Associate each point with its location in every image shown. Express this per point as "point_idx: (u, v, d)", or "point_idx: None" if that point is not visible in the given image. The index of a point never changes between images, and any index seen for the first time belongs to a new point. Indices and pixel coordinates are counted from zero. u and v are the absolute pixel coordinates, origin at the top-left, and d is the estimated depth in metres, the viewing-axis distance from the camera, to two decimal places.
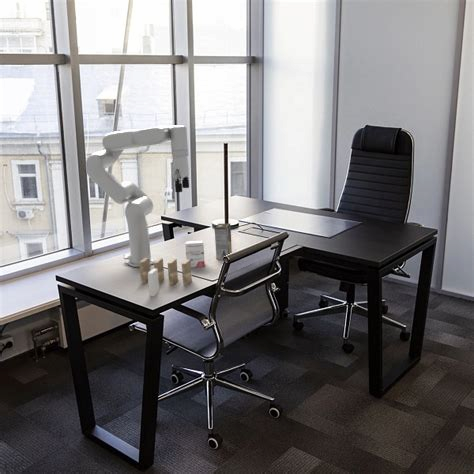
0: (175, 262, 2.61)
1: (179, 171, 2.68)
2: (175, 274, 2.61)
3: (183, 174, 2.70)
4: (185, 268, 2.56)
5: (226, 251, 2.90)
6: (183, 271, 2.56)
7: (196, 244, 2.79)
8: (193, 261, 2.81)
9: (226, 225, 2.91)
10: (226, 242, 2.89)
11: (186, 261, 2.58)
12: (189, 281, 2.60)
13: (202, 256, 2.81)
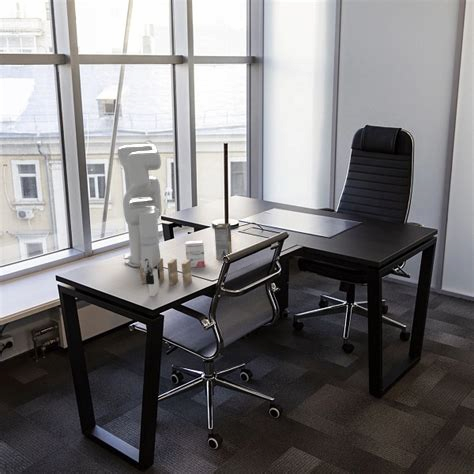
0: (175, 262, 2.61)
1: (149, 261, 2.41)
2: (175, 274, 2.61)
3: (153, 264, 2.43)
4: (185, 268, 2.56)
5: (226, 251, 2.90)
6: (183, 271, 2.56)
7: (196, 244, 2.79)
8: (193, 261, 2.81)
9: (226, 225, 2.91)
10: (226, 242, 2.89)
11: (186, 261, 2.58)
12: (189, 281, 2.60)
13: (202, 256, 2.81)
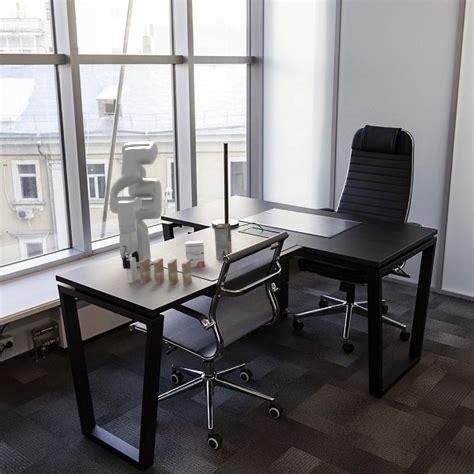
0: (175, 262, 2.61)
1: (126, 248, 2.58)
2: (175, 274, 2.61)
3: (131, 250, 2.60)
4: (185, 268, 2.56)
5: (226, 251, 2.90)
6: (183, 271, 2.56)
7: (196, 244, 2.79)
8: (193, 261, 2.81)
9: (226, 225, 2.91)
10: (226, 242, 2.89)
11: (186, 261, 2.58)
12: (189, 281, 2.60)
13: (202, 256, 2.81)
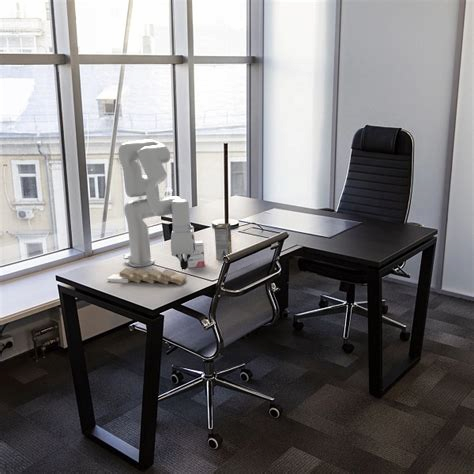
0: (153, 270, 2.65)
1: (171, 245, 2.57)
2: None
3: (174, 250, 2.56)
4: (165, 276, 2.59)
5: (226, 251, 2.90)
6: (167, 279, 2.59)
7: (196, 244, 2.79)
8: (193, 261, 2.81)
9: (226, 225, 2.91)
10: (226, 242, 2.89)
11: None
12: (182, 278, 2.60)
13: (202, 256, 2.81)
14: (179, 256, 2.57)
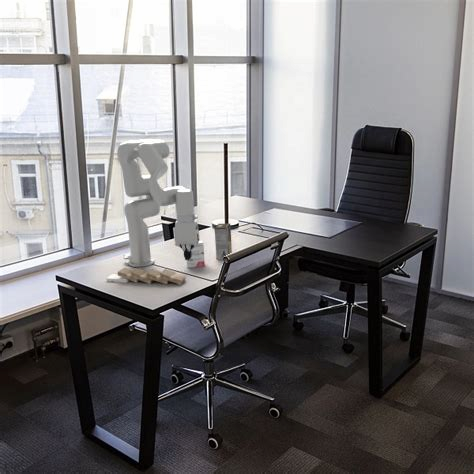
0: (152, 270, 2.65)
1: None
2: None
3: (178, 240, 2.54)
4: (164, 275, 2.60)
5: (226, 251, 2.90)
6: (167, 278, 2.60)
7: None
8: (193, 261, 2.81)
9: (226, 225, 2.91)
10: (226, 242, 2.89)
11: None
12: (181, 278, 2.61)
13: (202, 256, 2.81)
14: (183, 246, 2.55)
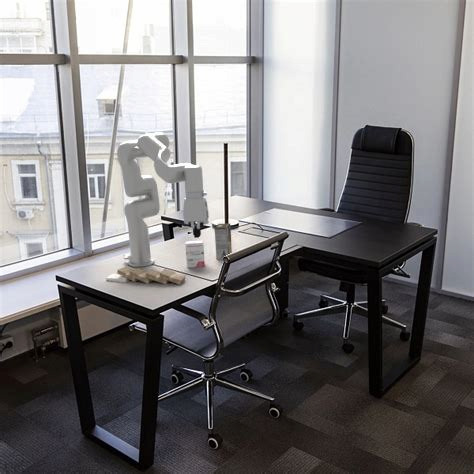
0: (151, 270, 2.65)
1: None
2: None
3: (187, 217, 2.50)
4: (164, 275, 2.60)
5: (226, 251, 2.90)
6: (166, 278, 2.60)
7: (196, 244, 2.79)
8: (193, 261, 2.81)
9: (226, 225, 2.91)
10: (226, 242, 2.89)
11: None
12: (181, 277, 2.61)
13: (202, 256, 2.81)
14: (192, 224, 2.51)
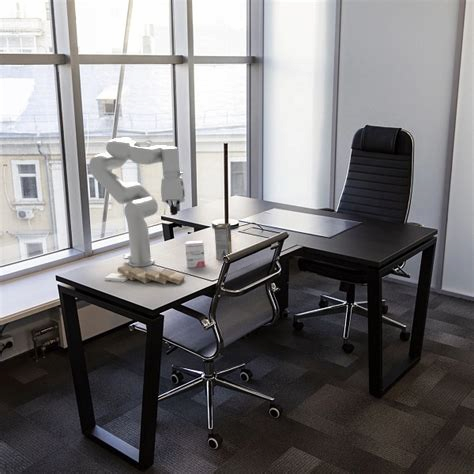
0: (151, 270, 2.66)
1: (161, 191, 2.68)
2: None
3: (164, 196, 2.67)
4: (163, 275, 2.60)
5: (226, 251, 2.90)
6: (166, 278, 2.60)
7: (196, 244, 2.79)
8: (193, 261, 2.81)
9: (226, 225, 2.91)
10: (226, 242, 2.89)
11: None
12: (180, 277, 2.61)
13: (202, 256, 2.81)
14: (169, 202, 2.68)
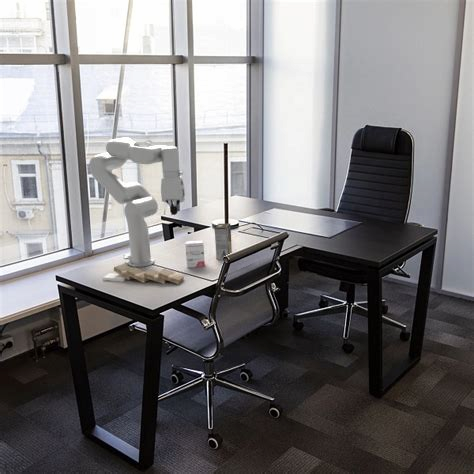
0: (150, 270, 2.66)
1: (161, 191, 2.68)
2: None
3: (164, 195, 2.67)
4: (162, 275, 2.61)
5: (226, 251, 2.90)
6: (165, 278, 2.61)
7: (196, 244, 2.79)
8: (193, 261, 2.81)
9: (226, 225, 2.91)
10: (226, 242, 2.89)
11: None
12: (179, 277, 2.62)
13: (202, 256, 2.81)
14: (169, 201, 2.68)
